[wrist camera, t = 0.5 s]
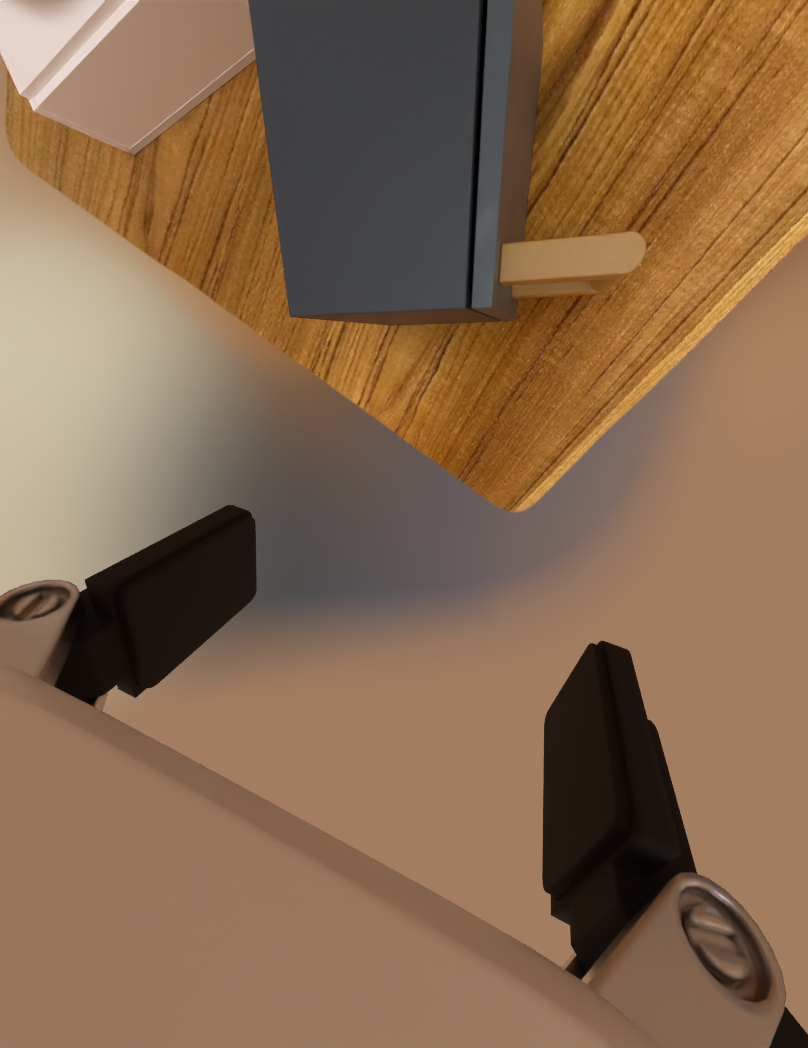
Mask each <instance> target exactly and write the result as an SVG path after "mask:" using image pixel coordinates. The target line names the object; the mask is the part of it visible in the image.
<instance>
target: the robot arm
mask: <svg viewBox="0 0 808 1048" xmlns="http://www.w3.org/2000/svg"><path fill="white" fill-rule="evenodd" d="M85 583H86V586H87V589H85V590H83V591H81V592H79V590H78V588H77V586H76V585H74V584H72V583H71V582H67V581H63V580H44V581H37V582H33V583H29V584H25V585H22V586H19V587H17V588H14V589H12V590H10V591H8V592H6V593H4V594H3V595H1V596H0V1048H808V1034H807V1033H806V1032H805V1031H804V1029H803V1028H802V1027H801V1026H800V1024H799V1023H798V1022H797V1021H796V1019H795V1018H794V1017H793V1015H792V1014H791V1013H790V1012H789V1011H788V1009H787V1008H786V1007H785V1000H786V990H785V985H784V980H783V975H782V971H781V969H780V966H779V964H778V962H777V959H776V957H775V955H774V953H773V950H772V948H771V946H770V945H769V943H768V941H767V940H766V938H765V936H764V935H763V933H762V931H761V930H760V928H759V926H758V925H757V924H756V922H755V921H754V920H753V919H752V917H751V916H750V915H749V914H748V912H747V911H746V910H745V909H744V908H743V906H742V905H741V904H740V903H739V902H738V901H737V900H736V899H734V898H733V897H732V896H731V895H730V894H729V893H728V892H727V891H726V890H725V889H723V888H722V887H721V886H719V885H717V884H716V883H714V882H713V881H712V880H710V879H709V878H706V877H704V876H701V875H698V874H697V872H696V868H695V865H694V861H693V857H692V854H691V850H690V846H689V843H688V839H687V835H686V832H685V829H684V825H683V821H682V817H681V814H680V810H679V807H678V803H677V799H676V796H675V792H674V788H673V785H672V781H671V778H670V774H669V771H668V767H667V763H666V760H665V756H664V752H663V749H662V745H661V741H660V738H659V734H658V731H657V729H656V727H655V725H654V724H653V723H652V721H650V720H648V719H647V715H646V712H645V708H644V704H643V700H642V697H641V692H640V689H639V685H638V681H637V677H636V673H635V669H634V665H633V662H632V657H631V654H630V652H629V651H628V650H627V649H624V648H622V647H619V646H616V645H613V644H611V643H608V642H605V641H600V642H599V643H598V644H597V645H596V644H593V643H591V644H589V645H588V647H587V648H586V650H585V652H584V653H583V655H582V656H581V658H580V660H579V661H578V663H577V665H576V666H575V668H574V669H573V671H572V672H571V674H570V676H569V678H568V679H567V681H566V682H565V684H564V685H563V687H562V689H561V690H560V692H559V694H558V695H557V697H556V699H555V700H554V702H553V703H552V705H551V707H550V708H549V710H548V712H547V715H546V718H545V724H544V790H543V792H544V793H543V875H542V878H543V887H544V890H545V892H547V893H549V894H551V915H552V916H554V917H555V918H557V919H559V920H561V921H563V922H565V923H567V924H569V925H570V931H571V932H570V933H571V946H572V948H573V949H574V951H575V952H574V953H573V954H572V955H571V957H570V958H569V959H568V960H567V961H566V963H565V964H564V965H563V966H562V967H560V966H558V965H557V964H555V963H554V962H552V961H550V960H549V959H547V958H546V957H544V956H543V955H541V954H539V953H538V952H536V951H535V950H533V949H532V948H530V947H529V946H527V945H525V944H523V943H522V942H520V941H518V940H516V939H515V938H513V937H511V936H510V935H508V934H506V933H504V932H502V931H501V930H499V929H497V928H495V927H494V926H492V925H490V924H488V923H487V922H485V921H483V920H482V919H480V918H478V917H476V916H475V915H473V914H471V913H470V912H468V911H466V910H464V909H463V908H461V907H459V906H457V905H456V904H454V903H452V902H450V901H448V900H447V899H445V898H443V897H442V896H440V895H438V894H436V893H435V892H433V891H431V890H429V889H427V888H425V887H424V886H422V885H420V884H418V883H416V882H415V881H413V880H411V879H409V878H407V877H406V876H404V875H402V874H400V873H398V872H396V871H395V870H393V869H391V868H389V867H387V866H386V865H384V864H382V863H380V862H378V861H376V860H375V859H373V858H371V857H369V856H367V855H365V854H364V853H362V852H360V851H358V850H357V849H355V848H353V847H351V846H349V845H347V844H346V843H344V842H342V841H340V840H338V839H337V838H335V837H333V836H331V835H329V834H327V833H325V832H324V831H322V830H320V829H318V828H317V827H315V826H313V825H311V824H309V823H307V822H306V821H304V820H302V819H300V818H298V817H296V816H295V815H293V814H291V813H289V812H287V811H285V810H284V809H282V808H280V807H278V806H276V805H274V804H273V803H271V802H269V801H267V800H265V799H263V798H261V797H260V796H258V795H256V794H254V793H252V792H251V791H249V790H247V789H245V788H243V787H241V786H239V785H238V784H236V783H234V782H232V781H230V780H228V779H227V778H225V777H223V776H221V775H219V774H217V773H216V772H214V771H212V770H210V769H208V768H206V767H205V766H203V765H201V764H199V763H197V762H195V761H193V760H192V759H190V758H188V757H186V756H184V755H182V754H181V753H179V752H177V751H175V750H173V749H171V748H169V747H167V746H166V745H164V744H162V743H160V742H158V741H156V740H154V739H153V738H151V737H149V736H147V735H145V734H143V733H141V732H140V731H138V730H136V729H134V728H132V727H130V726H128V725H126V724H125V723H123V722H121V721H119V720H117V719H115V718H114V717H111V716H110V715H108V714H106V713H104V712H102V710H103V707H104V704H105V701H106V698H107V694H108V691H109V690H111V689H112V688H113V687H114V686H116V685H117V686H118V689H120V690H121V691H123V692H125V693H127V694H129V695H131V696H133V697H135V698H136V697H137V696H138V695H139V694H141V693H142V692H143V691H144V690H145V689H146V688H151V687H153V686H155V685H157V684H158V683H159V682H160V681H161V680H162V679H164V678H165V677H166V676H167V675H168V674H169V673H170V672H171V671H173V670H174V669H175V668H176V667H177V666H178V665H179V664H180V663H182V662H183V661H184V660H185V659H186V658H187V657H189V655H191V654H192V653H193V652H194V651H195V650H196V649H197V648H199V647H200V646H201V645H202V644H203V643H204V642H205V641H207V639H209V638H210V637H211V636H212V635H213V634H214V633H216V632H217V631H218V630H219V629H220V628H221V627H222V626H224V625H225V624H226V623H227V622H228V621H229V620H230V619H231V618H233V616H235V615H236V614H237V613H238V612H239V611H240V610H241V609H243V608H244V607H245V606H246V605H247V604H248V603H250V602H251V600H252V599H253V598H254V596H255V594H256V531H255V520H254V519H253V518H252V515H251V513H250V512H249V511H247V510H244V509H242V508H239V507H236V506H234V505H227V506H225V507H223V508H221V509H220V510H218V511H215V512H214V513H212V514H210V515H208V516H206V517H204V518H202V519H200V520H198V521H196V522H195V523H193V524H191V525H189V526H187V527H185V528H183V529H181V530H179V531H178V532H175V533H174V534H171V535H170V536H168V537H166V538H164V539H162V540H160V541H158V542H156V543H154V544H153V545H150V546H149V547H147V548H145V549H143V550H141V551H139V552H137V553H135V554H133V555H131V556H130V557H128V558H126V559H124V560H122V561H120V562H118V563H116V564H114V565H112V566H110V567H108V568H107V569H104V570H103V571H101V572H99V573H97V574H95V575H93V576H91V577H89V578H87V579H85Z"/></svg>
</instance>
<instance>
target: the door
mask: <svg viewBox="0 0 808 1048" xmlns="http://www.w3.org/2000/svg"><path fill="white" fill-rule="evenodd" d="M542 51H543V14H542V0H488V2H487V21H486V40H485V59H484V78H483V97H482V116H481V135H480V153H479V172H478V191H477V210H476V229H475V248H474V267H473V286H472V305H471V308H472V309H474V310H477V311H479V312H482V313H484V314H487V315H489V316H492V317H494V318H497V319H499V320H502V321H516V314H517V304H518V298H537V297H556V296H576V295H595V294H603V293H605V292H607V291H608V290H609V289H611V288H612V287H613V286H614V285H616V284H617V283H618V282H619V281H621V280H622V279H623V278H624V277H625V276H627V275H628V274H629V273H630V272H632V271H633V270H634V269H635V268H636V267H637V266H638V265H639V264H640V263H641V261H642V260H643V258H644V256H645V252H646V242H645V239H644V237H643V236H642V235H641V234H640V233H638V232H635V231H628V232H618V233H608V234H598V235H587V236H577V237H566V238H556V239H545V240H535V241H525V242H524V233H525V223H526V213H527V203H528V193H529V183H530V172H531V162H532V152H533V142H534V132H535V122H536V112H537V102H538V92H539V82H540V72H541V62H542Z"/></svg>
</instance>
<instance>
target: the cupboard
mask: <svg viewBox="0 0 808 1048" xmlns="http://www.w3.org/2000/svg"><path fill="white" fill-rule="evenodd" d="M487 2H488V0H248V3H249V11H250V18H251V26H252V33H253V41H254V48H255V56H256V64H257V71H258V79H259V86H260V94H261V101H262V109H263V116H264V124H265V131H266V139H267V147H268V154H269V162H270V169H271V177H272V184H273V192H274V199H275V207H276V215H277V222H278V230H279V237H280V245H281V252H282V260H283V267H284V275H285V282H286V290H287V298H288V305H289V313H290V316H291V317H299V318H309V319H321V320H333V321H344V322H356V323H368V324H379V325H415V324H444V323H473V322H500V321H501V320H499V319H497V318H494V317H492V316H489V315H487V314H484V313H482V312H479V311H477V310H474V309H472V308H471V305H472V286H473V267H474V248H475V229H476V210H477V191H478V172H479V153H480V135H481V116H482V97H483V78H484V59H485V40H486V21H487Z"/></svg>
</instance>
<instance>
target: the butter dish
mask: <svg viewBox="0 0 808 1048" xmlns="http://www.w3.org/2000/svg"><path fill="white" fill-rule="evenodd" d="M0 53H1V55H2V57H3V60H4V62H5V64H6V66H7V68H8V70H9V73H10V75H11V77H12V79H13V81H14V83H15V85H16V88H17V90H18V92H19V94H20V95H21V96H23V97H25V98H27V99H28V100H29V102H30V104H31V106H32V109H33V111H34V112H36V113H39V114H41V115H43V116H45V117H48V118H50V119H52V120H54V121H57V122H59V123H61V124H64V125H66V126H68V127H70V128H73V129H75V130H77V131H79V132H82V133H84V134H86V135H88V136H91V137H93V138H95V139H97V140H100V141H102V142H104V143H106V144H109V145H111V146H113V147H115V148H118V149H120V150H122V151H125V152H129V153H131V154H133V155H135V154H136V153H137V152H139V151H140V150H141V149H142V148H144V147H145V146H146V145H148V144H149V143H150V142H151V141H153V140H154V139H155V138H156V137H158V136H159V135H160V134H162V133H163V132H164V131H165V130H167V129H168V128H169V127H170V126H172V125H173V124H174V123H175V122H177V121H178V120H179V119H181V118H182V117H183V116H184V115H186V114H187V113H188V112H189V111H191V110H192V109H193V108H195V107H196V106H197V105H198V104H200V103H201V102H202V101H203V100H205V99H206V98H207V97H208V96H210V95H211V94H212V93H214V92H215V91H216V90H217V89H219V88H220V87H221V86H222V85H224V84H225V83H226V82H228V81H229V80H230V79H231V78H233V77H234V76H235V75H236V74H238V73H239V72H240V71H241V70H243V69H244V68H245V67H247V66H248V65H249V64H250V63H252V62H253V61H254V60H255V59H256V56H255V48H254V41H253V33H252V26H251V18H250V11H249V3H248V0H0Z"/></svg>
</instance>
